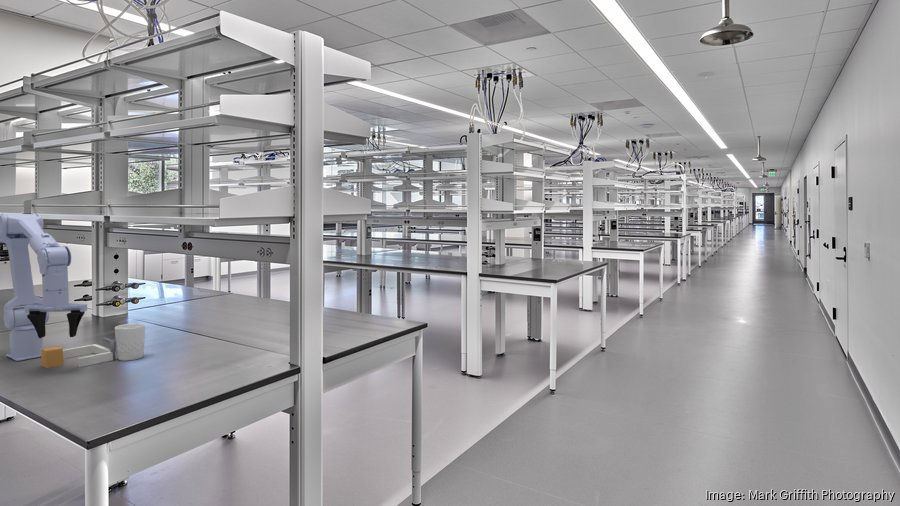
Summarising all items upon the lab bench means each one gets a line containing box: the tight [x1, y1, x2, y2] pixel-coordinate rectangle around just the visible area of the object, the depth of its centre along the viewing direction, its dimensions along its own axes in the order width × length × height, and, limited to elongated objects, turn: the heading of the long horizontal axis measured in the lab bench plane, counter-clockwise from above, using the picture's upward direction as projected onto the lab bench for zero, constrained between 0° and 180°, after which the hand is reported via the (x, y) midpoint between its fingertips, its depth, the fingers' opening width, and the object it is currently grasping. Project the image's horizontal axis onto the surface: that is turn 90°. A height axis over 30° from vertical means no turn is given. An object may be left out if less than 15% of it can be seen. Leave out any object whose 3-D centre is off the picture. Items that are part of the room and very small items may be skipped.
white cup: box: [114, 322, 146, 362], centre depth 156 cm, size 8×8×10 cm
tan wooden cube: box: [40, 346, 65, 369], centre depth 147 cm, size 4×4×5 cm
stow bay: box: [63, 336, 117, 368], centre depth 153 cm, size 14×10×6 cm
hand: (57, 336), depth 142 cm, fingers open, 7 cm apart
